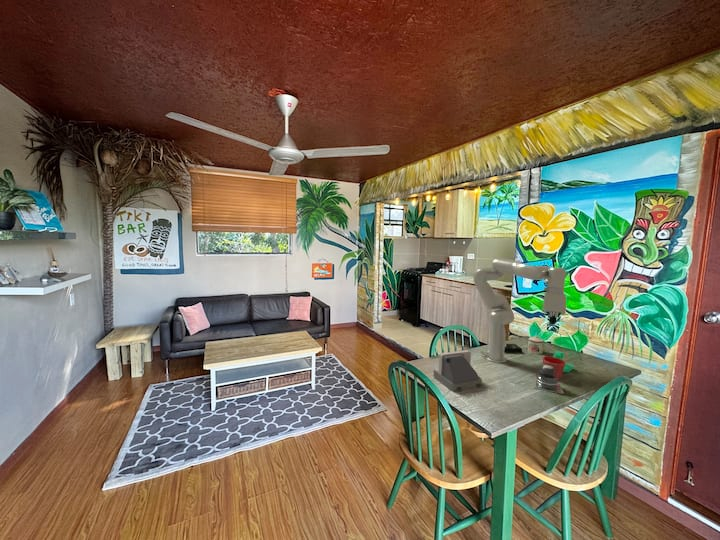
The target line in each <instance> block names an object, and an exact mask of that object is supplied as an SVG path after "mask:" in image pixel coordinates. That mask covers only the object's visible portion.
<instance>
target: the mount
mask: <svg viewBox="0 0 720 540" xmlns="http://www.w3.org/2000/svg"><path fill="white" fill-rule="evenodd" d="M552 357H555V358H558V359H561V360H563V361H564V358H565V353H564V352H562V351H559V350H555V351H554V354H553V355H552ZM574 369H575V366H574V365H572V364H570V363H567V362H565V367H564V370H563V373H568V372H569V373H570V372H571V371H572V370H574Z"/></svg>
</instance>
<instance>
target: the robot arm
mask: <svg viewBox="0 0 720 540" xmlns="http://www.w3.org/2000/svg"><path fill="white" fill-rule="evenodd" d="M566 272H567V271H566V269H565V268H564V267H559V266H557V267H553V266H552V267H551V266H547V265H537V266H536V265H530V264H524V263H522V262H521V261H520V260H515V259H511V258H509V257H496V258H495V259H493V261H491V267H482V268H479V269H477V270H475V272H474V274H473V282H474V285H475V287H476V289H477V291H478V293H479V295H480V297H481V300H482V302H483V305H484V307H485V308H486V309H487V310H494V311H492V312H490V313H489V315H488V329H489V330H488V345H487V350H481V349H480V350H479V351H480V353H479V354H481V355H482V356H483V355H484V358H485V359H486V360H487V361H489V362H491V361H492V363H497V364H504V363H506V362H507V358H506V357H505V353H504V350H505V347H506V328H505V325H509V324H510V325H511V324H512V323H514V321H515V313H514V311H513V310H512V307H511V306H510V303H509V301H508V299H507V298H506V296H504V295H503V294H501V293H498V294H497V293H495V291H494V289H493V287H492V286H491V284H490V283H489V282H488V281H496V280H499V279H500V278H501V277H504V276H505V275H506V274H508V275H509V274H510V275H514V276H517V277H519V278H523V279H527V280H532V281H538V280H539V281H540V280H547V284H546V285H547V286H546V287H543V290H544V291H545V292H544V296H543V300H542V301H543V303H542V308H541V312H542V313H544V314H547V315H548V316H549V319H548V322H549V323H550V325H554V326H555V325H556V323H557V319H558V318H559V316H562V315H566V314H567V313H566V311H567V295H566V293H564V292H565V283H566V280H565V279H566ZM553 313H554V314H553Z"/></svg>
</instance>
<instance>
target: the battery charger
mask: <svg viewBox="0 0 720 540" xmlns="http://www.w3.org/2000/svg"><path fill="white" fill-rule="evenodd" d="M504 352H506V354H522V353H523V349H522V347H520V346H519V345H518V344H516V343H505V350H504Z"/></svg>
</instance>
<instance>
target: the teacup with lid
mask: <svg viewBox="0 0 720 540" xmlns="http://www.w3.org/2000/svg"><path fill="white" fill-rule="evenodd" d="M544 346H545V347H546V349H543V347H544ZM527 348H528V349H527V352H529V353H531V354H535V355H542V354H543V352H546V351H547V350H549V346H548V344H547V343H544V340H543V339H542V338H540V337H539V336H538V335H534V336H531V337H528V343H527Z"/></svg>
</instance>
